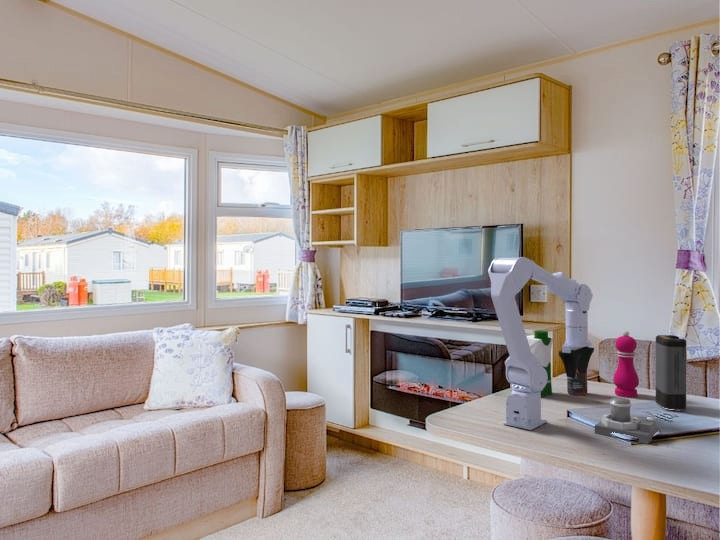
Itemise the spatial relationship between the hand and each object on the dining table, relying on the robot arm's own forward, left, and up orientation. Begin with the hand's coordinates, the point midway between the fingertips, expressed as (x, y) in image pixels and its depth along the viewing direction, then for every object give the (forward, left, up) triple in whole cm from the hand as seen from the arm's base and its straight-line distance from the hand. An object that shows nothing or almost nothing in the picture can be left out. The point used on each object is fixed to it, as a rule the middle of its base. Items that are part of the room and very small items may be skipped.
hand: (576, 375), depth 154 cm
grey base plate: (-10, -16, -10) cm, 22 cm away
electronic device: (+22, -18, -11) cm, 30 cm away
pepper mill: (+28, -4, -11) cm, 30 cm away
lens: (-10, -15, -8) cm, 20 cm away
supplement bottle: (+20, +8, -11) cm, 24 cm away
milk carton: (+12, +18, -11) cm, 24 cm away
